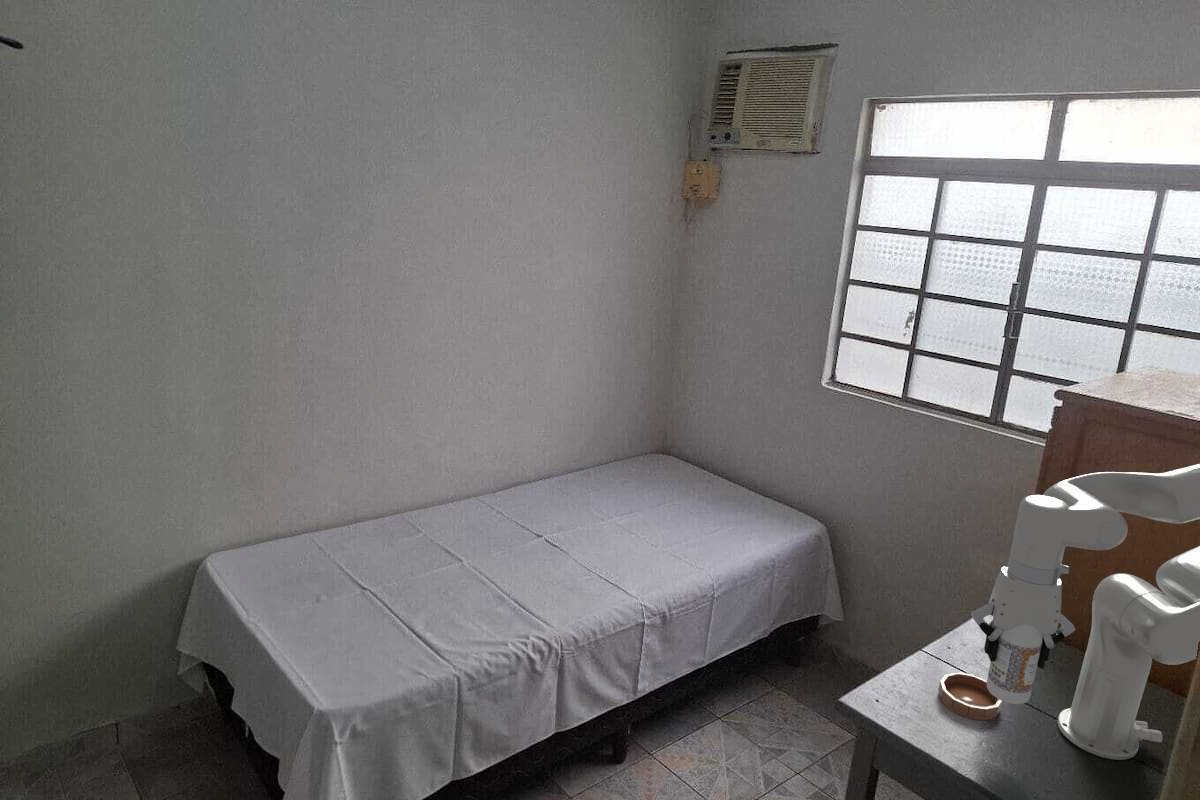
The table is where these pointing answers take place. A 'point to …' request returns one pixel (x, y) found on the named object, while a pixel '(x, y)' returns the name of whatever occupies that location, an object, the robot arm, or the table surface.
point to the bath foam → (1015, 664)
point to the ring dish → (968, 696)
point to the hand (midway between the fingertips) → (1014, 659)
